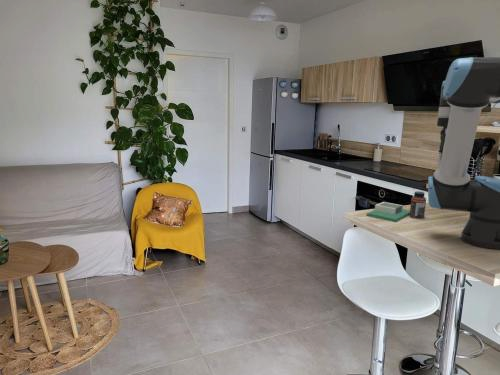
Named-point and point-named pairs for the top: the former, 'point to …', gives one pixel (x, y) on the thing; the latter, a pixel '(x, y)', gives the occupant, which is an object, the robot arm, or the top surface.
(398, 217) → the board
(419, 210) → the supplement bottle
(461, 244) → the top surface
